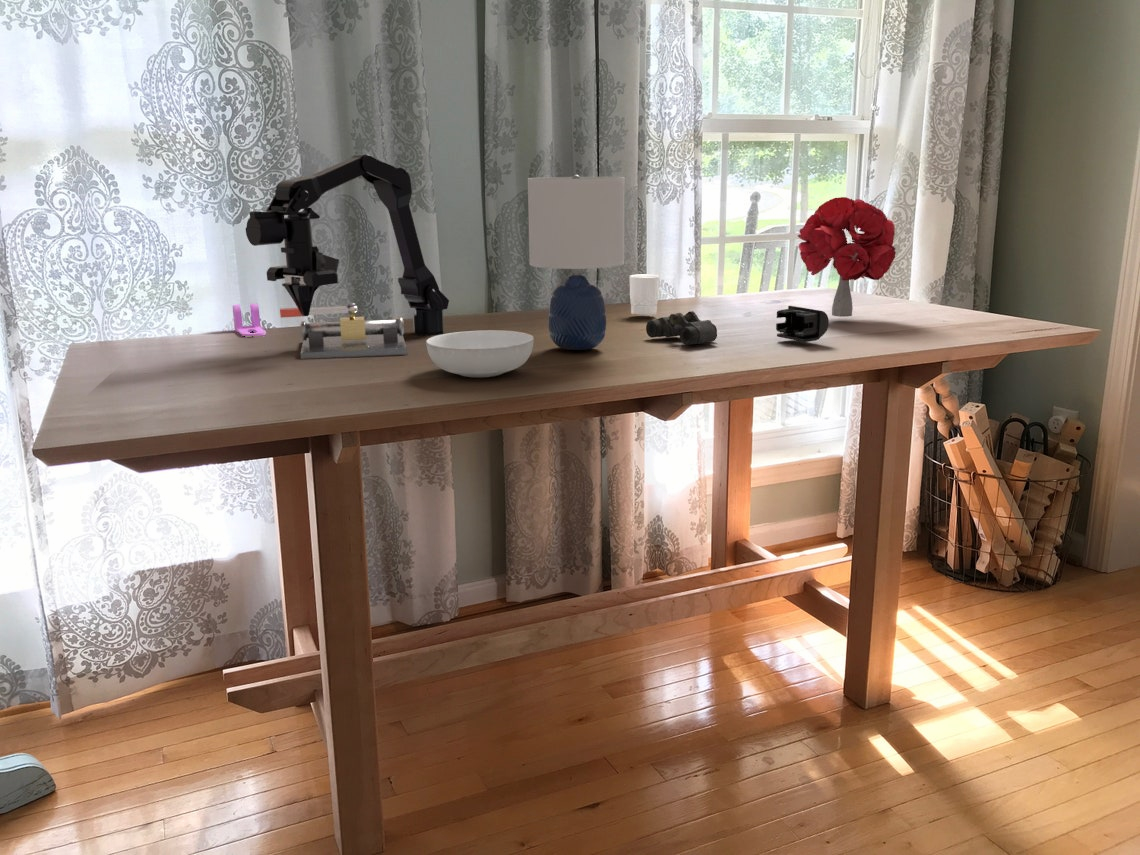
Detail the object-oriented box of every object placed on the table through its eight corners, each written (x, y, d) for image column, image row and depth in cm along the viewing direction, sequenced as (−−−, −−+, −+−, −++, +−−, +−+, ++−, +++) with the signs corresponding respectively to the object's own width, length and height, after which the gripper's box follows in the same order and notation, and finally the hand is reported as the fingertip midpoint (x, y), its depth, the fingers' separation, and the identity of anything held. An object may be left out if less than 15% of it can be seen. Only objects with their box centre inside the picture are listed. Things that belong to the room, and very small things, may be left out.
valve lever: (357, 311, 214) (356, 302, 213) (358, 313, 211) (357, 304, 211) (280, 315, 209) (279, 306, 208) (280, 317, 206) (280, 308, 206)
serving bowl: (527, 360, 201) (526, 327, 199) (541, 382, 181) (541, 345, 179) (426, 364, 197) (424, 331, 196) (429, 387, 178) (427, 350, 176)
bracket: (235, 332, 237) (232, 304, 235) (258, 330, 240) (255, 302, 238) (243, 340, 226) (240, 311, 224) (268, 338, 228) (265, 309, 227)
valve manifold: (401, 338, 226) (400, 304, 224) (407, 354, 207) (405, 317, 205) (304, 343, 221) (301, 308, 219) (301, 360, 203) (297, 322, 200)
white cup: (659, 315, 254) (660, 277, 252) (629, 315, 255) (629, 277, 252) (657, 311, 262) (658, 274, 259) (628, 311, 262) (628, 274, 260)
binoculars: (680, 331, 233) (681, 305, 231) (727, 341, 220) (728, 313, 218) (645, 336, 227) (645, 310, 225) (691, 346, 214) (692, 318, 212)
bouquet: (850, 306, 266) (857, 194, 258) (909, 319, 245) (919, 197, 237) (783, 311, 258) (789, 196, 250) (838, 325, 237) (846, 199, 229)
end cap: (828, 339, 220) (830, 309, 218) (805, 342, 216) (807, 312, 214) (796, 333, 228) (797, 304, 226) (774, 336, 224) (775, 307, 223)
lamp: (577, 335, 227) (576, 173, 217) (642, 346, 213) (644, 174, 203) (512, 347, 213) (507, 175, 203) (577, 360, 199) (575, 175, 189)
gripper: (356, 240, 202) (362, 315, 206) (307, 237, 215) (313, 307, 219) (310, 245, 194) (317, 322, 199) (261, 241, 207) (269, 314, 211)
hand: (305, 316), depth 207 cm, fingers closed
